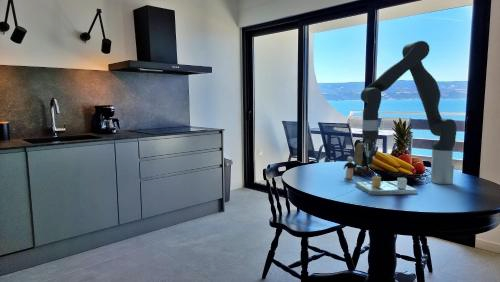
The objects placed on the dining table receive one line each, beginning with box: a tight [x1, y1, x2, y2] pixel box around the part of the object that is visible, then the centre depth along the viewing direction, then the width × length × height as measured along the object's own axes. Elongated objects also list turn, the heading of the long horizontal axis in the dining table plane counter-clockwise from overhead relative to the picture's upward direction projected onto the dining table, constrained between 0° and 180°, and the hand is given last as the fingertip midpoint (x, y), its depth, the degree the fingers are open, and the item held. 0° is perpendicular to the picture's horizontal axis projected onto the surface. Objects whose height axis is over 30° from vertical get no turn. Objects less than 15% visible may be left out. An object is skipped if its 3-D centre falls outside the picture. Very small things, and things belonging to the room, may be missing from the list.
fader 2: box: [396, 177, 408, 189], centre depth 152 cm, size 3×3×5 cm
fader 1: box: [371, 175, 382, 187], centre depth 156 cm, size 3×3×5 cm
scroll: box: [353, 139, 375, 177], centre depth 194 cm, size 15×15×20 cm
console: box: [355, 180, 418, 196], centre depth 158 cm, size 22×17×2 cm
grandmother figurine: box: [343, 156, 358, 181], centre depth 181 cm, size 8×4×13 cm, turn 62°
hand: (369, 164), depth 164 cm, fingers closed
